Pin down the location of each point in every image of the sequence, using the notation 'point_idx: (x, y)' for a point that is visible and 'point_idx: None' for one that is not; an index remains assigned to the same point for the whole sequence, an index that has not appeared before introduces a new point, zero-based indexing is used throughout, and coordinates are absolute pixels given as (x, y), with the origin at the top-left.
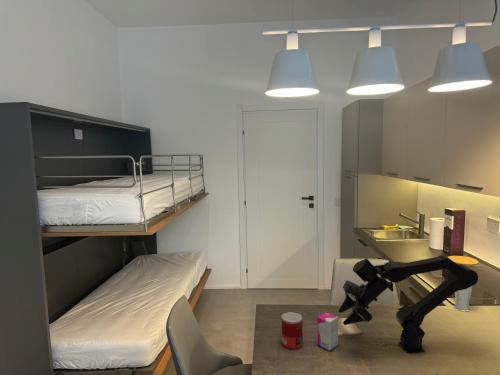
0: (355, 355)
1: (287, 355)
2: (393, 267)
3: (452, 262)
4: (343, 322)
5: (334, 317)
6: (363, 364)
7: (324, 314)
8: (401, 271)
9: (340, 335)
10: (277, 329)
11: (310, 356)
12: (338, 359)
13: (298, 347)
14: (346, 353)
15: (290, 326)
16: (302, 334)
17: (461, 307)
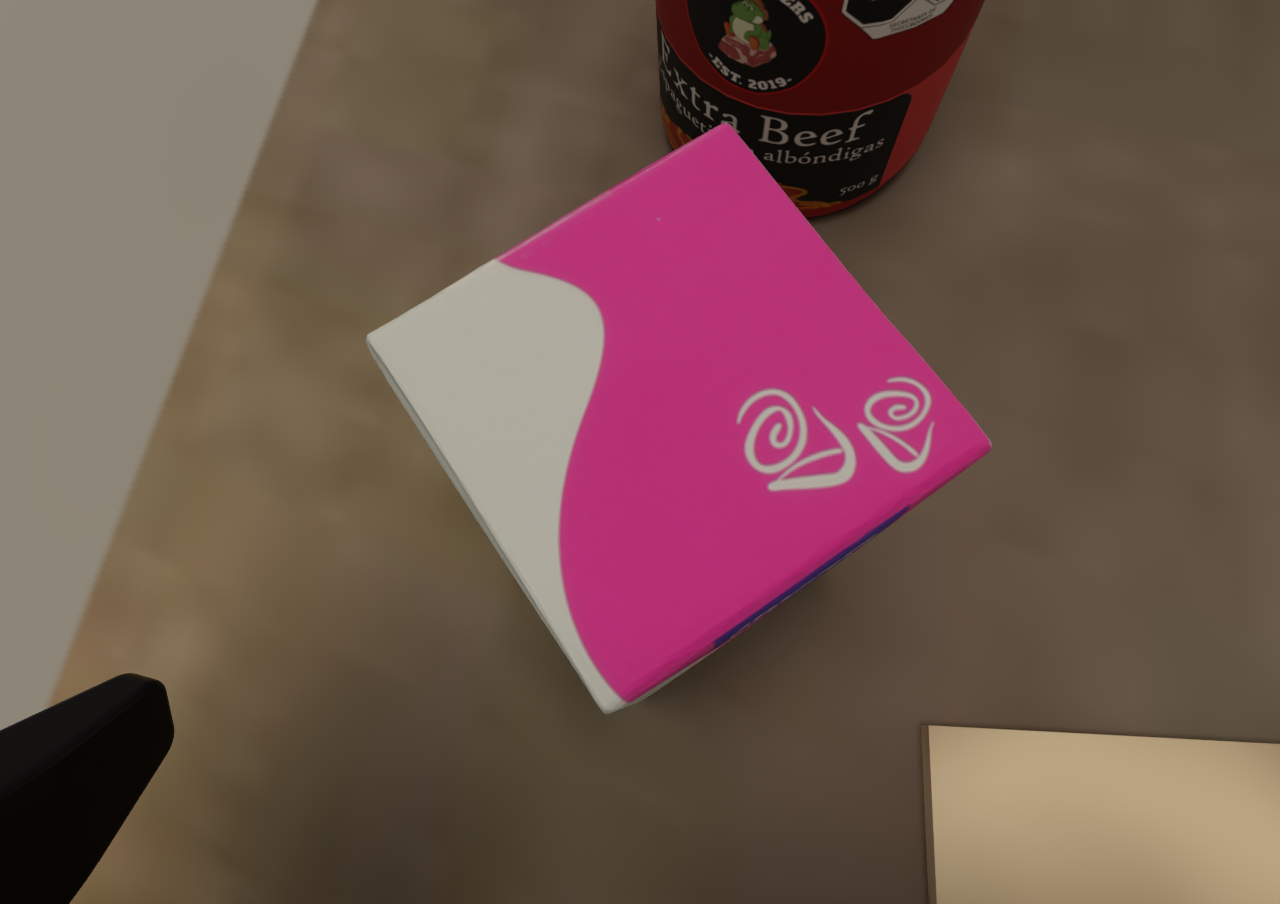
0: (341, 858)
1: (574, 19)
2: None
3: None
4: (111, 683)
5: (589, 571)
6: (119, 868)
7: (840, 344)
8: None
9: (928, 882)
10: (1179, 17)
11: (490, 246)
12: (332, 562)
13: (671, 142)
14: (424, 740)
15: None
16: (747, 112)
17: None
